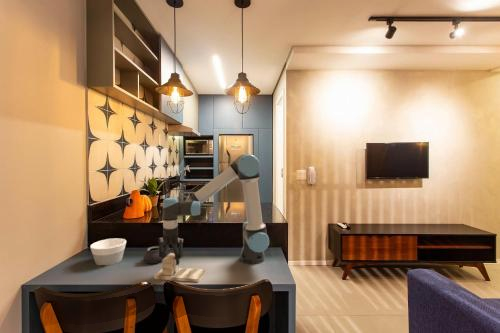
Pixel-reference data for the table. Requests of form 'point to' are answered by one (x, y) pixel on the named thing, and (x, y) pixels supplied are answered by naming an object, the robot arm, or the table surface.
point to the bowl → (108, 251)
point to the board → (183, 275)
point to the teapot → (153, 254)
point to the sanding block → (168, 265)
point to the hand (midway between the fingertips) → (171, 270)
